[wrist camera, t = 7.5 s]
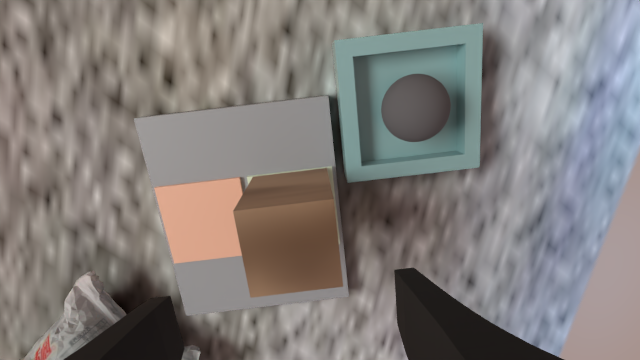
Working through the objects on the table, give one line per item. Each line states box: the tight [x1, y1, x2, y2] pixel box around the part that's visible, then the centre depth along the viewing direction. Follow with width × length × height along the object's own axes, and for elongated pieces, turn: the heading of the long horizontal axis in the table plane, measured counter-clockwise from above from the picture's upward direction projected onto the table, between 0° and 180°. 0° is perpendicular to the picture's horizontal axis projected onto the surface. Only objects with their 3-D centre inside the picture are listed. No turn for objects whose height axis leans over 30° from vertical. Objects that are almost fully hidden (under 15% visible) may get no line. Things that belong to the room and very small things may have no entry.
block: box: [233, 168, 343, 298], centre depth 16 cm, size 4×4×5 cm
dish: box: [332, 23, 483, 183], centre depth 18 cm, size 7×7×2 cm
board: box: [134, 95, 349, 316], centre depth 19 cm, size 12×10×1 cm
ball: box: [381, 74, 451, 142], centre depth 16 cm, size 3×3×3 cm
